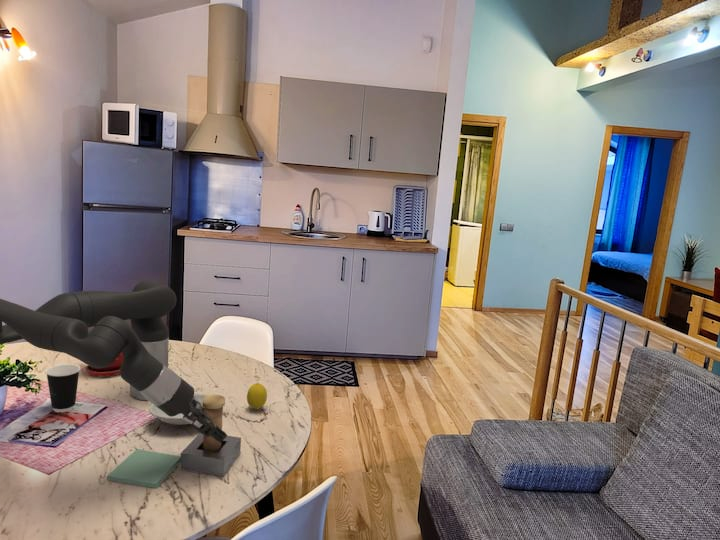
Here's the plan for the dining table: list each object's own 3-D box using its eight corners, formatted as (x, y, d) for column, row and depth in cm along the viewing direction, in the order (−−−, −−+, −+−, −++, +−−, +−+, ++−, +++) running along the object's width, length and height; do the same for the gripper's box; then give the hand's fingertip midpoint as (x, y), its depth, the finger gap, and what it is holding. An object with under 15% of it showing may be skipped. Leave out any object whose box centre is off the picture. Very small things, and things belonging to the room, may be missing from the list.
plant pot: (138, 371, 162) (138, 335, 160) (98, 383, 151) (98, 344, 149) (114, 360, 169) (114, 326, 167) (74, 371, 158) (74, 334, 156)
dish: (149, 441, 122) (149, 421, 121) (147, 414, 135) (147, 396, 134) (223, 431, 129) (224, 413, 129) (214, 407, 142) (215, 390, 141)
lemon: (261, 415, 140) (263, 388, 139) (243, 411, 141) (244, 385, 140) (269, 407, 145) (270, 380, 144) (251, 403, 146) (252, 377, 145)
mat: (106, 480, 106) (106, 475, 105) (136, 453, 116) (136, 449, 116) (156, 488, 104) (156, 484, 104) (181, 460, 115) (181, 456, 115)
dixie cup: (86, 402, 138) (86, 364, 136) (70, 416, 130) (70, 376, 128) (56, 401, 138) (56, 362, 136) (39, 414, 130) (38, 373, 128)
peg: (196, 465, 114) (199, 402, 111) (206, 454, 118) (208, 393, 116) (217, 468, 113) (219, 405, 111) (225, 457, 118) (228, 396, 115)
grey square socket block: (180, 469, 111) (180, 453, 111) (200, 446, 121) (201, 431, 121) (223, 476, 110) (224, 459, 110) (240, 453, 120) (241, 437, 119)
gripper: (149, 389, 113) (203, 431, 121) (156, 418, 101) (215, 462, 109) (175, 365, 115) (226, 408, 123) (184, 390, 102) (241, 436, 110)
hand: (221, 433), depth 116 cm, fingers closed on peg, 4 cm apart
